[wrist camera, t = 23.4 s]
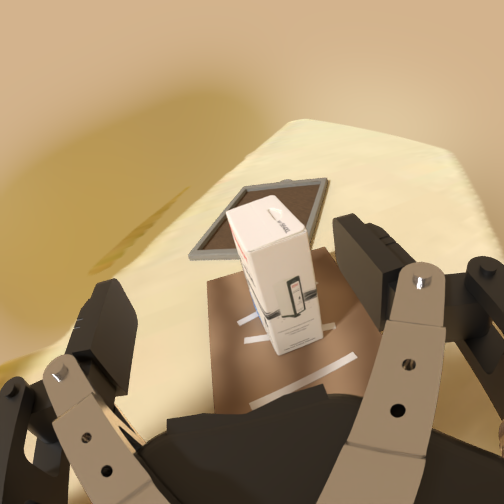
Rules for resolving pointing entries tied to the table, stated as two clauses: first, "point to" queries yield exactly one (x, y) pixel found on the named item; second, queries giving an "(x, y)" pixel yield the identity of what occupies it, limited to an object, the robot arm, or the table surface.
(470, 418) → the table surface
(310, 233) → the grey framed brown panel
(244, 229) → the ink box
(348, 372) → the walnut board
